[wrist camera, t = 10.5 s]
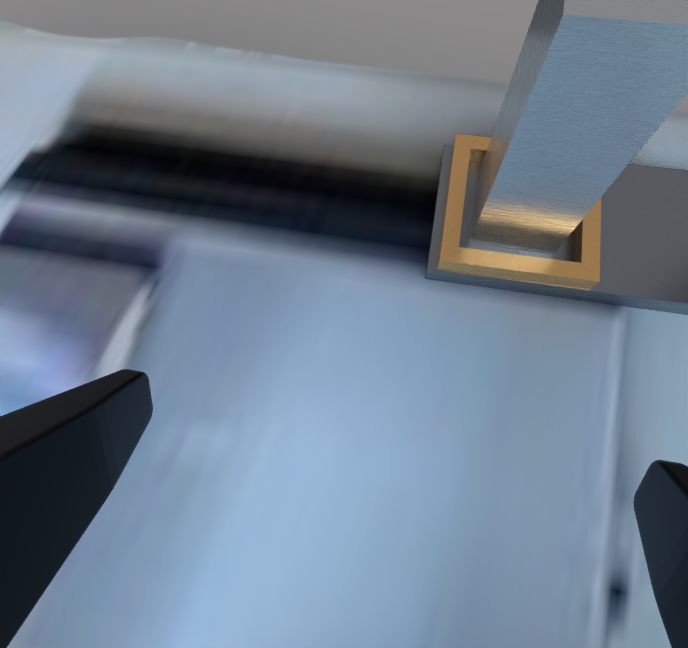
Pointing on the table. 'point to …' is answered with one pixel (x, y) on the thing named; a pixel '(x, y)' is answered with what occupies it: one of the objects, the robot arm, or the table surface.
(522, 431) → the table surface
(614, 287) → the rail
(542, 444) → the table surface
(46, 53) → the table surface
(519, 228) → the gray block
